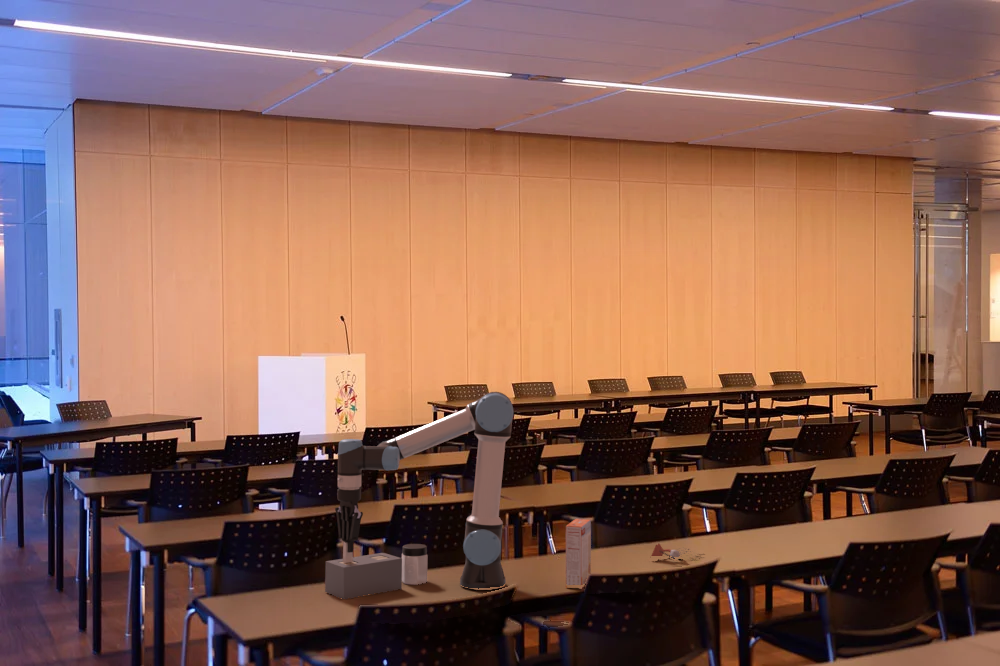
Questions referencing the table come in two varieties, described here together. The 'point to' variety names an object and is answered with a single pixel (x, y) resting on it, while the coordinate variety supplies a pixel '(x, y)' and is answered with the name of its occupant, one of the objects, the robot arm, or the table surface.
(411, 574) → the jar
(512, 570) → the table surface
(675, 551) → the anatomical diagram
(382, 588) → the peg block
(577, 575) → the cracker box
